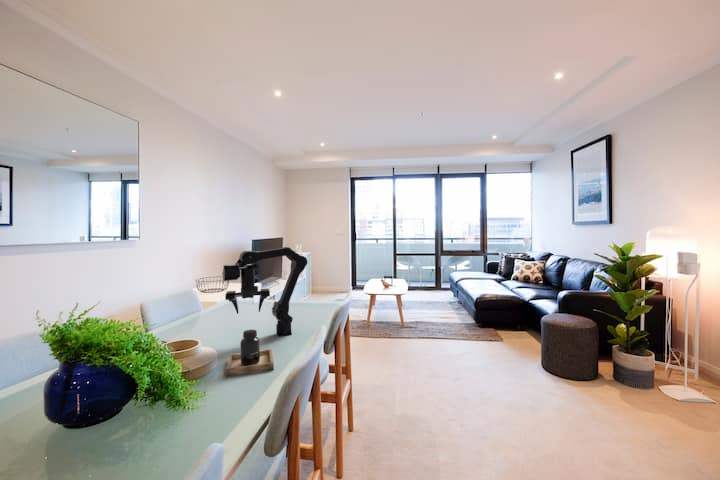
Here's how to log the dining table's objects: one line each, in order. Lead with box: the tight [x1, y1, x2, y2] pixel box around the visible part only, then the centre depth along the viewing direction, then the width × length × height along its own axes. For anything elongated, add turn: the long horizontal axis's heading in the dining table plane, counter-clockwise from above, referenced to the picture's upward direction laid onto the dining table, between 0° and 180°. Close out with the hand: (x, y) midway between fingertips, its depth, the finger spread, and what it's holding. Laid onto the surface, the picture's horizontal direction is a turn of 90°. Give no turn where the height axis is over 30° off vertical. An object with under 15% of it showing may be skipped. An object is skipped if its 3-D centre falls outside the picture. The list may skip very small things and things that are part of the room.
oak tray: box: [225, 348, 275, 378], centre depth 118 cm, size 16×14×2 cm
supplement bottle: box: [240, 329, 261, 366], centre depth 118 cm, size 7×7×12 cm
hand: (248, 312), depth 142 cm, fingers open, 9 cm apart
